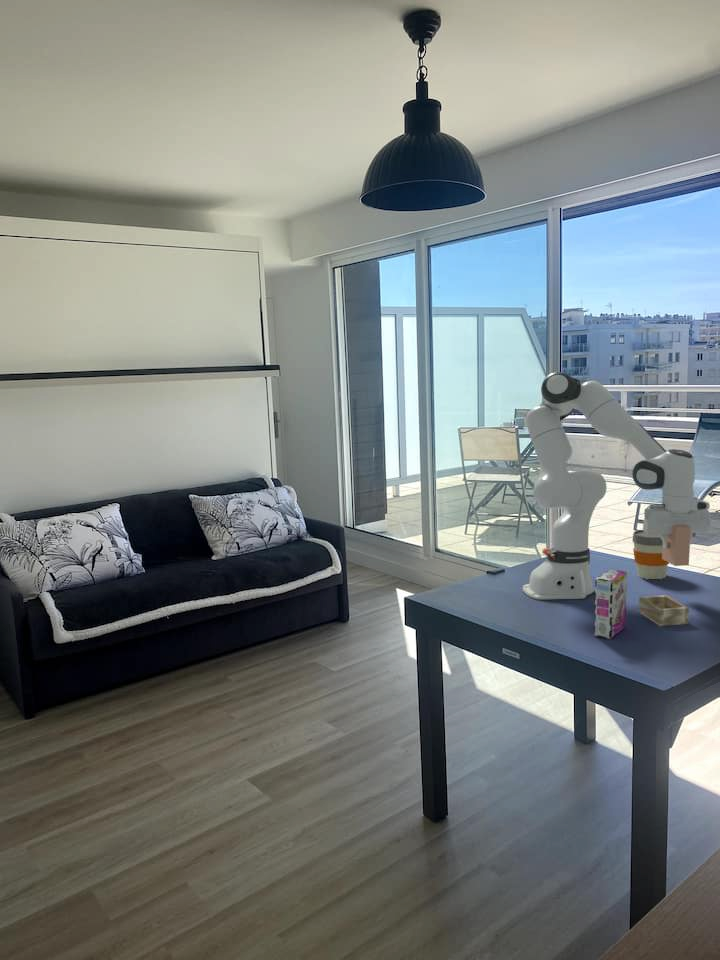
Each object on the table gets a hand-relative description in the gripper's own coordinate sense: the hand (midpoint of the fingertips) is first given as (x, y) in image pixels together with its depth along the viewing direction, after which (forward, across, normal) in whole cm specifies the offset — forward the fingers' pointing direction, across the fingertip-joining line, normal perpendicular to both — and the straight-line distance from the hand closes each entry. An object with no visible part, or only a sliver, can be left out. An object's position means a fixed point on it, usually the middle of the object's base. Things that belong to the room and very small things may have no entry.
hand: (675, 547), depth 225 cm
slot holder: (+16, -12, -17) cm, 26 cm away
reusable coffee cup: (+17, +4, +22) cm, 28 cm away
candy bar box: (+16, -31, -24) cm, 43 cm away
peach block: (+5, 0, 0) cm, 5 cm away
